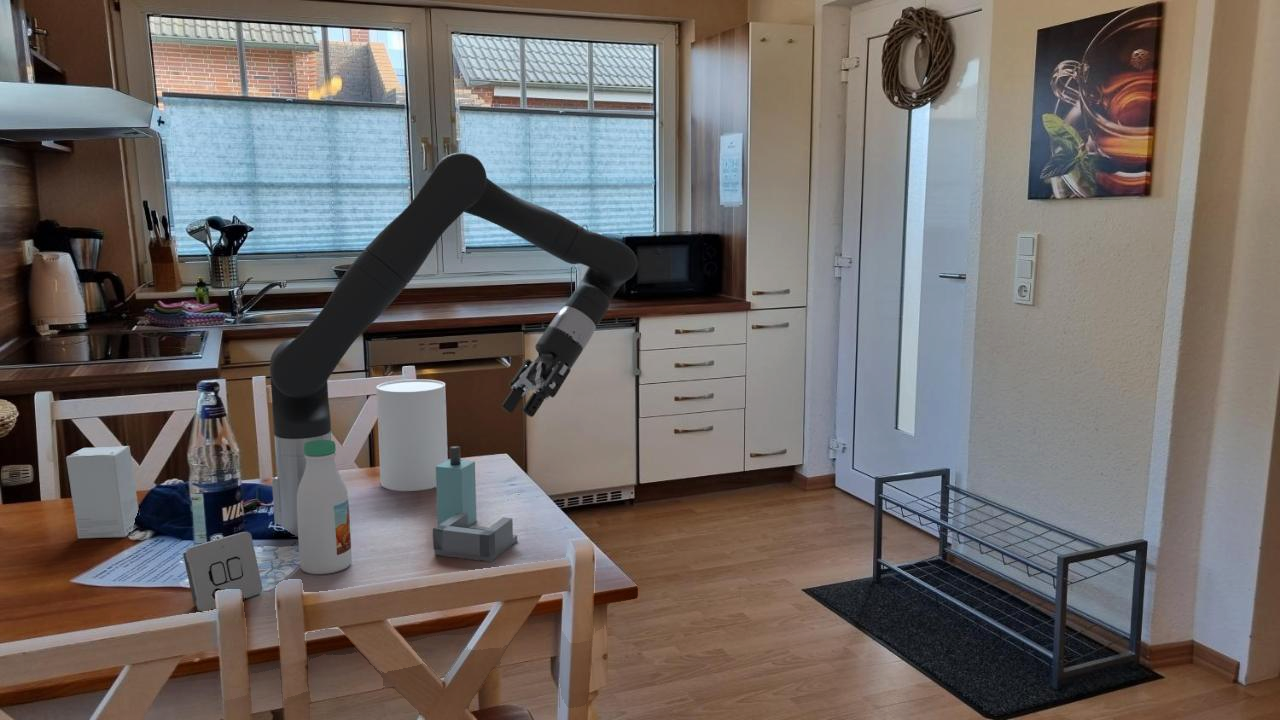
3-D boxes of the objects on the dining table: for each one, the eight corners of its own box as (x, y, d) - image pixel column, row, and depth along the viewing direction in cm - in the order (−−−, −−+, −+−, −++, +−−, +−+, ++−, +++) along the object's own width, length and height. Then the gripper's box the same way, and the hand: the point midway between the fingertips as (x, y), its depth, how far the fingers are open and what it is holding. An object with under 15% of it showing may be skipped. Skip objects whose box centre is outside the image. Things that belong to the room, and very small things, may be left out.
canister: (418, 468, 202) (414, 376, 199) (462, 478, 194) (459, 384, 191) (366, 483, 191) (362, 386, 188) (411, 495, 184) (407, 394, 180)
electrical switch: (201, 615, 130) (193, 550, 129) (183, 609, 133) (175, 545, 132) (264, 594, 137) (257, 532, 136) (246, 588, 140) (239, 528, 139)
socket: (464, 534, 162) (463, 509, 161) (517, 540, 159) (516, 515, 158) (433, 555, 152) (432, 528, 151) (489, 562, 149) (489, 535, 148)
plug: (451, 517, 170) (449, 442, 168) (476, 520, 169) (474, 445, 166) (437, 526, 166) (435, 449, 163) (463, 529, 164) (460, 452, 162)
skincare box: (141, 527, 165) (134, 445, 163) (123, 539, 159) (116, 454, 157) (92, 527, 165) (84, 445, 162) (73, 539, 159) (64, 454, 156)
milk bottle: (322, 579, 142) (315, 451, 139) (289, 569, 146) (281, 444, 143) (362, 563, 149) (356, 440, 145) (329, 553, 153) (323, 434, 149)
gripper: (533, 324, 172) (483, 397, 167) (570, 324, 160) (517, 402, 155) (562, 349, 176) (514, 420, 171) (600, 351, 164) (550, 428, 159)
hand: (516, 412), depth 163 cm, fingers open, 8 cm apart
